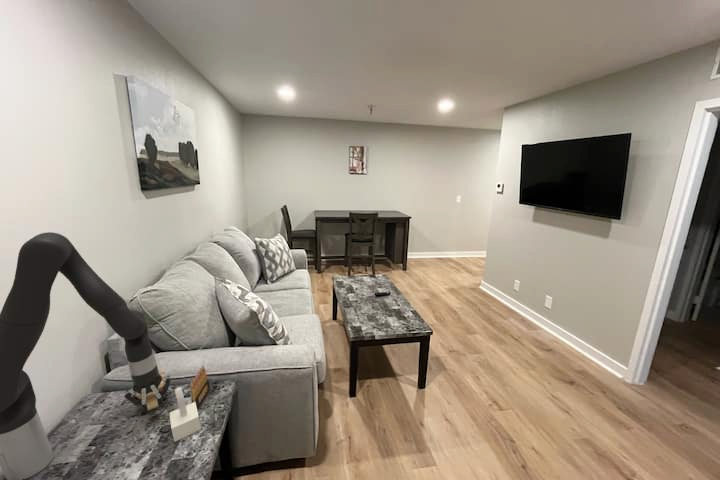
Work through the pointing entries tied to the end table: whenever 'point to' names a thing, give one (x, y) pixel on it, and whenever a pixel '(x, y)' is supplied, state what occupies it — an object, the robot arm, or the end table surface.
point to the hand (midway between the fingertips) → (154, 407)
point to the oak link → (152, 396)
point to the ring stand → (184, 418)
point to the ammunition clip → (199, 387)
